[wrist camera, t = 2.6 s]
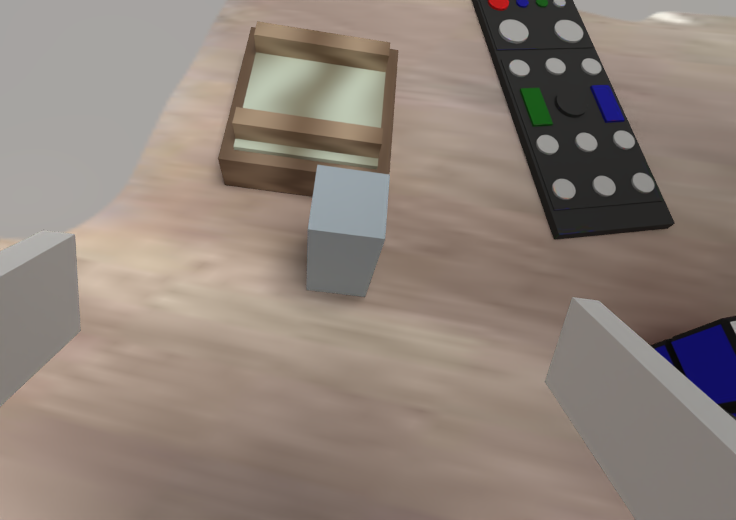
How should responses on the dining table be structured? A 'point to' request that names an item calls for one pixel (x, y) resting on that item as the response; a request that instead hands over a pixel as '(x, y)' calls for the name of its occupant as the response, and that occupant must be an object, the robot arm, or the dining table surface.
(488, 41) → the remote control
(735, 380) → the puzzle cube
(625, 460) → the robot arm
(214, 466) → the dining table surface
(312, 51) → the wooden tray
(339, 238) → the slate block
